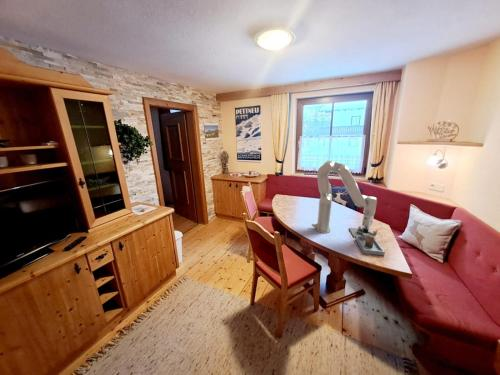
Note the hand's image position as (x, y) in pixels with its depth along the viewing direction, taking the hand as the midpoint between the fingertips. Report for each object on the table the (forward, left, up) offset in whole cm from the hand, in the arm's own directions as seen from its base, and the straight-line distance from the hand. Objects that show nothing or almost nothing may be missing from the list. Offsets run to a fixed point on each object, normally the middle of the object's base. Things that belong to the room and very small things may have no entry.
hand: (365, 232), depth 154 cm
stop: (-2, -14, -3) cm, 14 cm away
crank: (+2, +2, -1) cm, 3 cm away
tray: (-2, -14, -4) cm, 14 cm away
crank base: (-2, +6, -4) cm, 8 cm away
